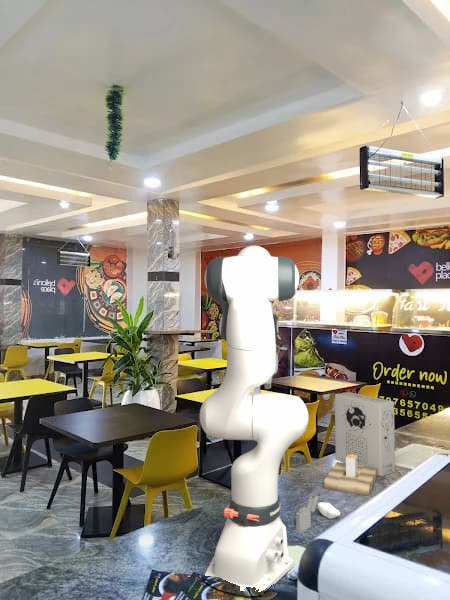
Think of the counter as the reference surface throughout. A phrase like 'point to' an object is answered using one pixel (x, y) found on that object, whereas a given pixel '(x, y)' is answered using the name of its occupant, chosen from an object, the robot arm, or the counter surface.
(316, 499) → the lighter
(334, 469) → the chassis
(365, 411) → the cereal box
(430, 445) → the counter surface
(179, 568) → the counter surface
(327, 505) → the dumpling
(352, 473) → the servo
